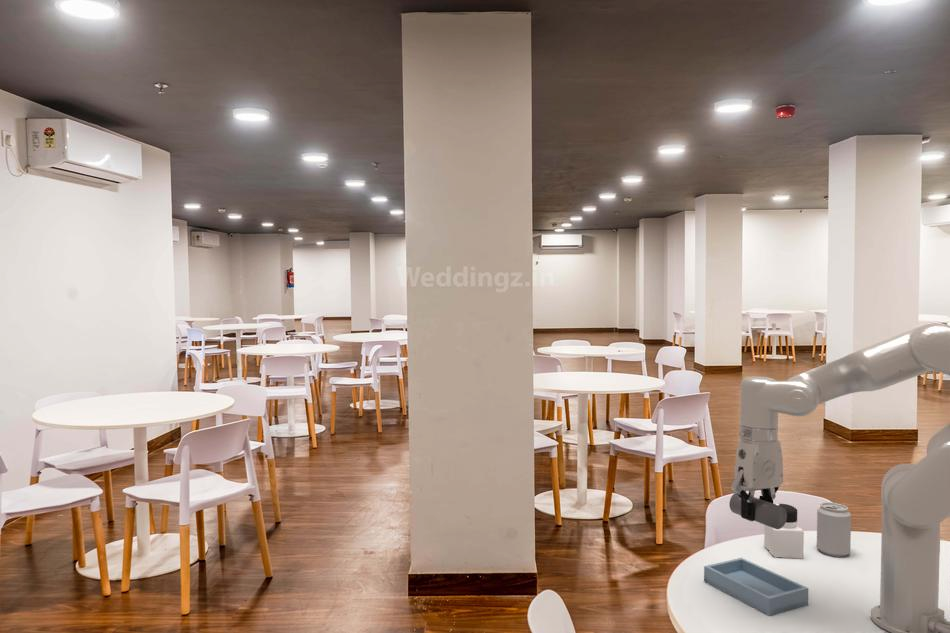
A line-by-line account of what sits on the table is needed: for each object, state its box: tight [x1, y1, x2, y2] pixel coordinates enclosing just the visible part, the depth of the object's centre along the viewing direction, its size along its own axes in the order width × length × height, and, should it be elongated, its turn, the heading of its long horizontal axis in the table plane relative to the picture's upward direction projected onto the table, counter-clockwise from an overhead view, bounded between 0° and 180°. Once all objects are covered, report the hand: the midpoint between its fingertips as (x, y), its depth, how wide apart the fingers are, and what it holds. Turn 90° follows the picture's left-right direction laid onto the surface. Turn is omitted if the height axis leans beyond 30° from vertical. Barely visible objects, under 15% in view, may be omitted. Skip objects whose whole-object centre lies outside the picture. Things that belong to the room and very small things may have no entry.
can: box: [816, 501, 852, 558], centre depth 164 cm, size 8×8×12 cm
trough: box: [703, 557, 809, 617], centre depth 141 cm, size 18×12×4 cm, turn 25°
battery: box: [729, 492, 787, 529], centre depth 141 cm, size 12×5×5 cm, turn 25°
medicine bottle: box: [763, 503, 805, 559], centre depth 163 cm, size 7×7×12 cm
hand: (756, 516), depth 140 cm, fingers closed on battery, 4 cm apart
